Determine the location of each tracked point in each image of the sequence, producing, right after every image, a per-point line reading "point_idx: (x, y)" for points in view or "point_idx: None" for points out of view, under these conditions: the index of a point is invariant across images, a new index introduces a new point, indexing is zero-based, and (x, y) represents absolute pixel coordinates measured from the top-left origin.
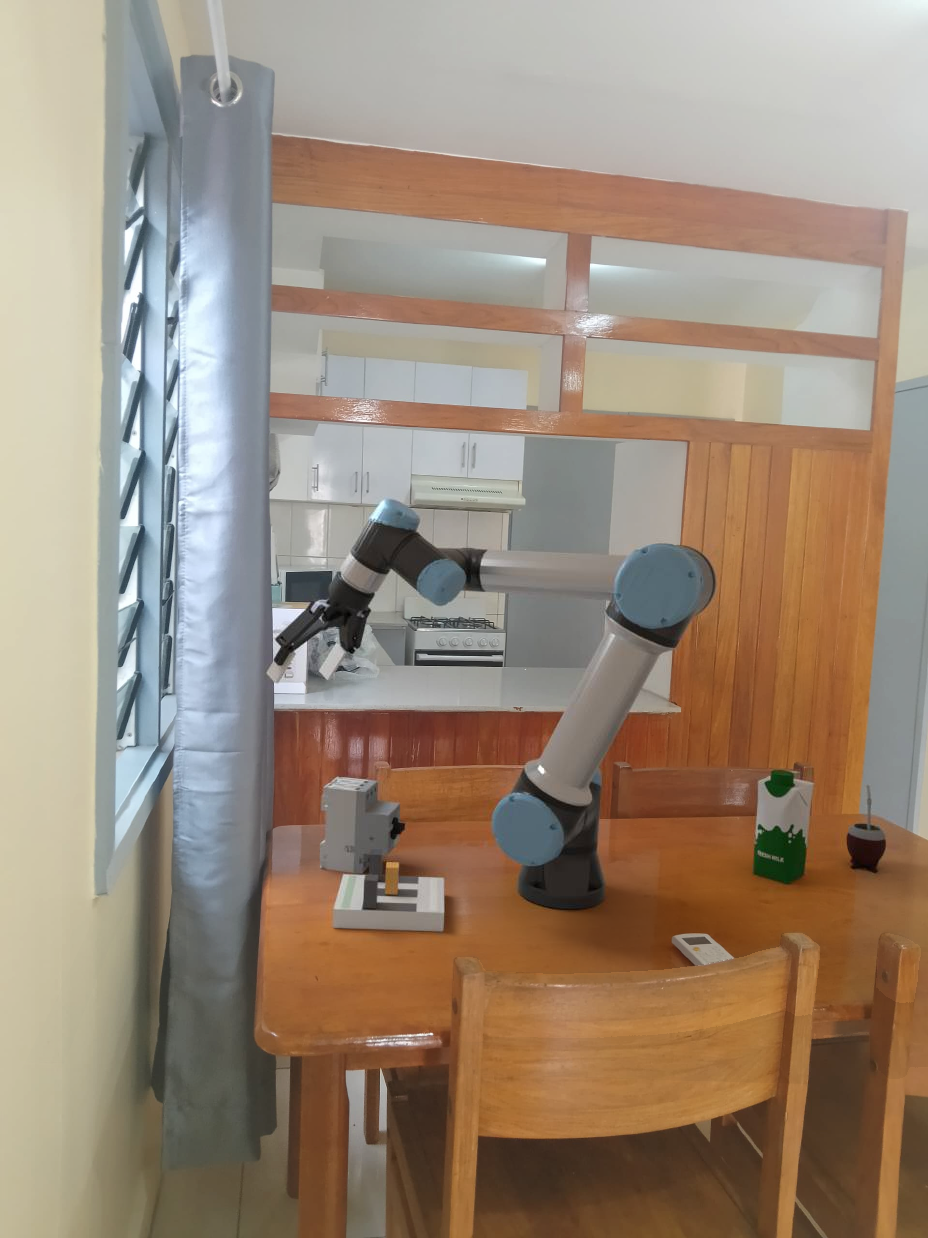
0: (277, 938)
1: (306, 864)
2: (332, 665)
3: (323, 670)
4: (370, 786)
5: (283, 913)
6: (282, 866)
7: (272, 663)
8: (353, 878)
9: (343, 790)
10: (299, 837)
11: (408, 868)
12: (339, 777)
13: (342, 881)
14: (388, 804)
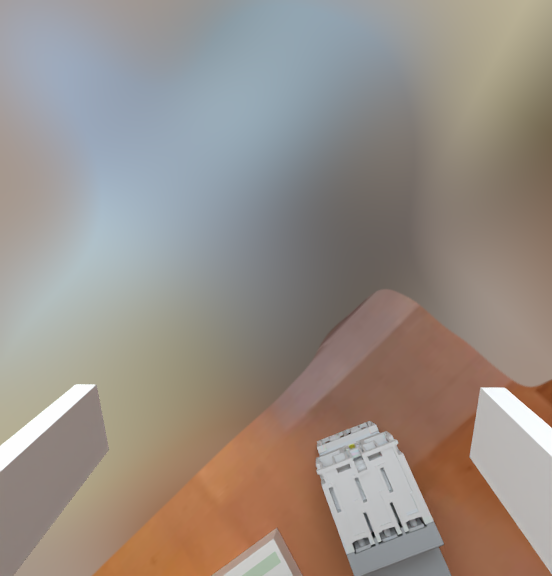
0: (129, 550)
1: (317, 415)
2: (536, 523)
3: (491, 428)
4: (396, 560)
5: (184, 505)
6: (291, 394)
7: (22, 430)
8: (269, 565)
9: (334, 519)
10: (383, 335)
11: None
12: (395, 448)
13: (251, 557)
14: (427, 566)
